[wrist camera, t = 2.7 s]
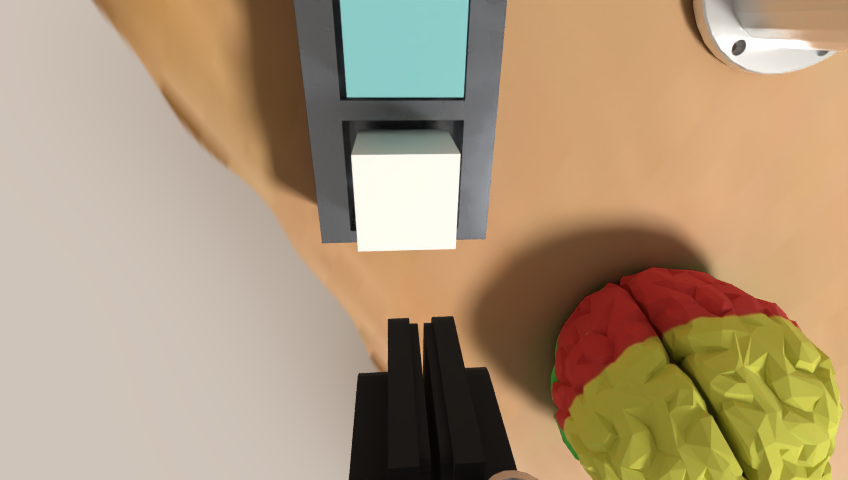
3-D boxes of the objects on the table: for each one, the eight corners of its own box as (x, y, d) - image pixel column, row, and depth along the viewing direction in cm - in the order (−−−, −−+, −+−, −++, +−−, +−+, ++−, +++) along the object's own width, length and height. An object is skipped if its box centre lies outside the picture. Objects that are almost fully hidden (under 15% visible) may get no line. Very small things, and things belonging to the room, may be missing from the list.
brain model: (763, 402, 42) (939, 572, 28) (585, 468, 45) (666, 652, 31) (721, 210, 32) (952, 327, 19) (499, 311, 35) (561, 475, 22)
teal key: (452, -28, 20) (471, -42, 16) (448, 82, 22) (463, 97, 18) (348, -30, 20) (336, -45, 15) (355, 82, 22) (346, 97, 17)
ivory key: (447, 129, 23) (460, 153, 19) (444, 210, 26) (455, 248, 21) (358, 129, 23) (351, 154, 19) (363, 211, 25) (358, 251, 21)
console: (504, -250, 19) (536, -325, 15) (472, 209, 30) (485, 238, 26) (283, -263, 18) (253, -345, 14) (331, 212, 29) (322, 243, 25)
